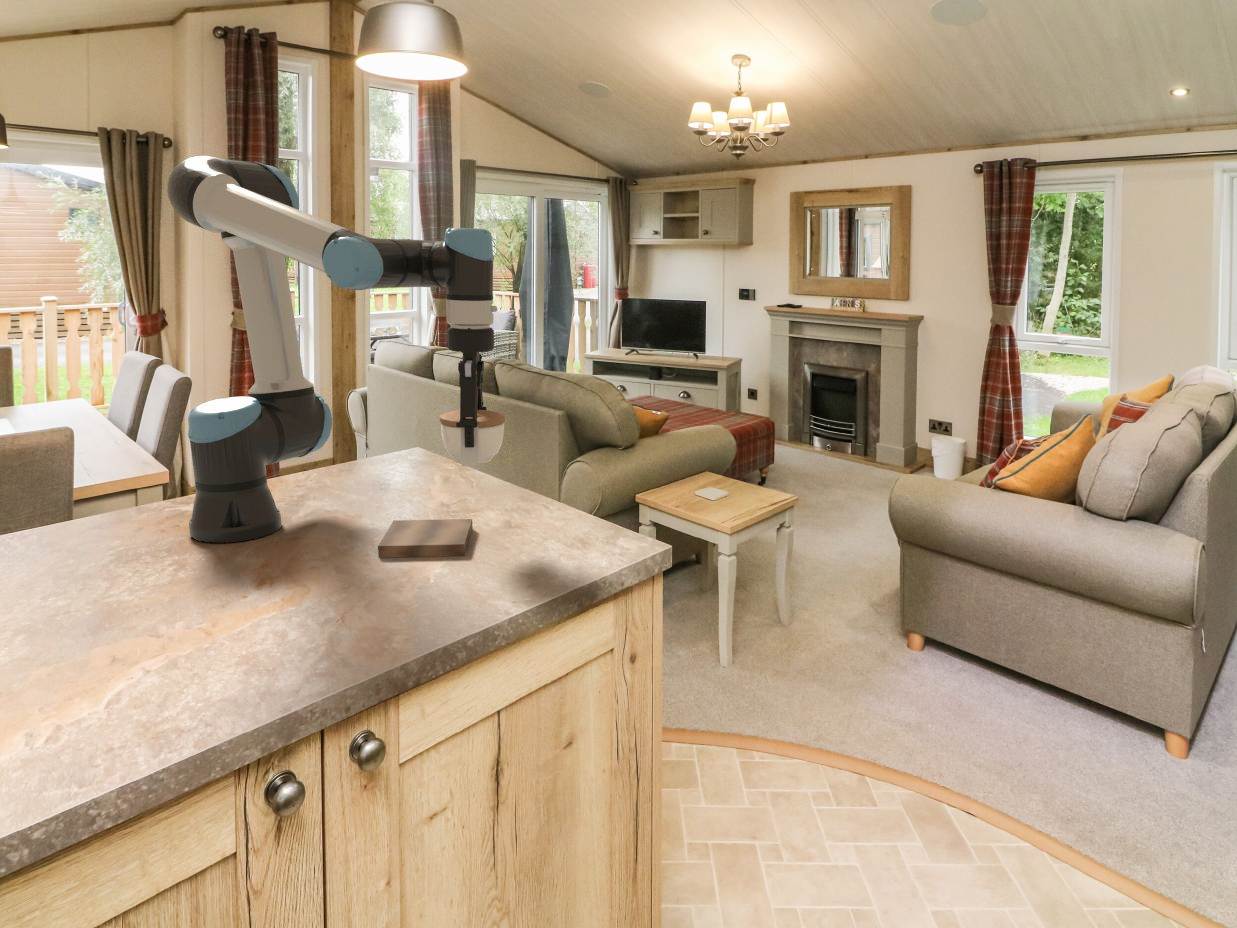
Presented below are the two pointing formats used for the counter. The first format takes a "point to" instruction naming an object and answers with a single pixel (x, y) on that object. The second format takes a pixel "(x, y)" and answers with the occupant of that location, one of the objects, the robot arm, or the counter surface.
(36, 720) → the counter surface
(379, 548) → the walnut board
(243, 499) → the robot arm
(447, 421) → the lidded jar
